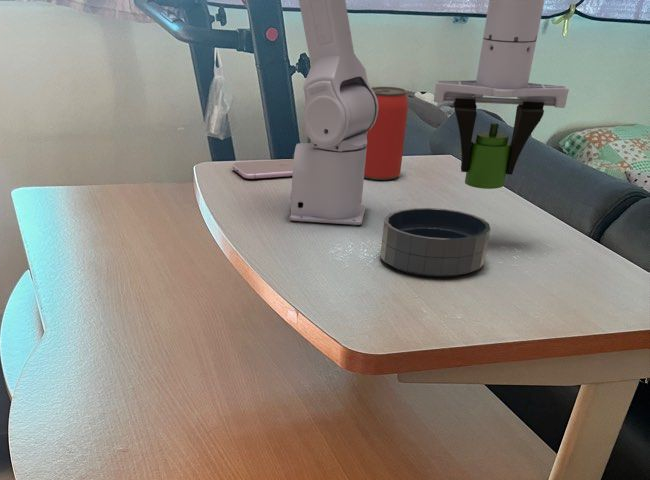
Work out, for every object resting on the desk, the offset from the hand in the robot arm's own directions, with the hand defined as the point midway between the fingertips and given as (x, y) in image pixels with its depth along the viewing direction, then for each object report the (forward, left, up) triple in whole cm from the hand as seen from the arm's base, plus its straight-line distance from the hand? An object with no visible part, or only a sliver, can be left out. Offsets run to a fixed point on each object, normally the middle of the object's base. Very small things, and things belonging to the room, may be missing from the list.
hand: (485, 171), depth 99 cm
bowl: (-5, -9, -8) cm, 13 cm away
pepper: (0, 0, -1) cm, 1 cm away
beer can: (-13, +30, -9) cm, 34 cm away
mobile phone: (-28, +29, -8) cm, 42 cm away
